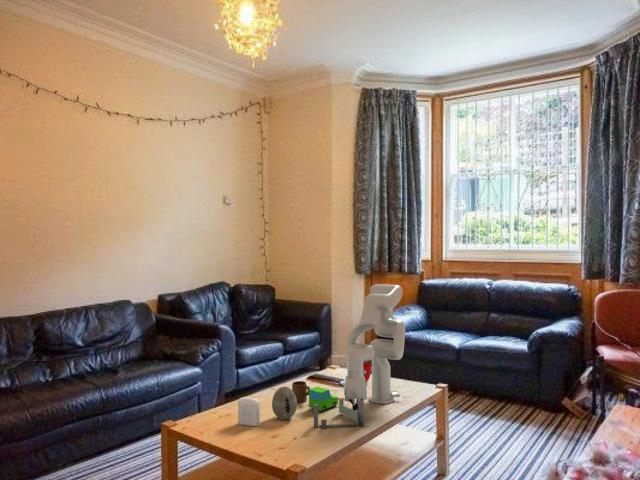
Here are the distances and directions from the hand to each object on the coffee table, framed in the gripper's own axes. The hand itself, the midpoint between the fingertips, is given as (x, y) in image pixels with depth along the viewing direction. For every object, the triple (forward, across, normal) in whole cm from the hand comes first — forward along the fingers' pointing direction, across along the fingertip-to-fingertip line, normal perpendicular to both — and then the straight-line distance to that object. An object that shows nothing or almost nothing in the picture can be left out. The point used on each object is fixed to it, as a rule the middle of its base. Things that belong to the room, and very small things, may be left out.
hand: (355, 412), depth 234 cm
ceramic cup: (+2, -16, -52) cm, 54 cm away
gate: (+1, +4, +1) cm, 4 cm away
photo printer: (+3, +50, -2) cm, 50 cm away
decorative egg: (+2, +33, -6) cm, 34 cm away
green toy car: (+3, +12, -16) cm, 21 cm away
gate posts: (+2, +10, +10) cm, 14 cm away
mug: (+2, +22, -27) cm, 35 cm away
